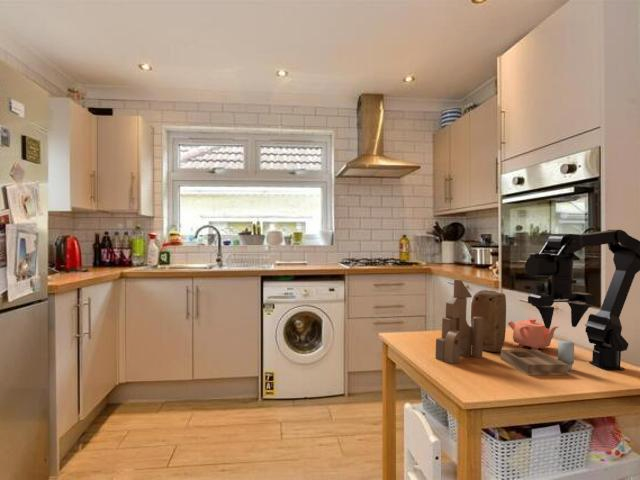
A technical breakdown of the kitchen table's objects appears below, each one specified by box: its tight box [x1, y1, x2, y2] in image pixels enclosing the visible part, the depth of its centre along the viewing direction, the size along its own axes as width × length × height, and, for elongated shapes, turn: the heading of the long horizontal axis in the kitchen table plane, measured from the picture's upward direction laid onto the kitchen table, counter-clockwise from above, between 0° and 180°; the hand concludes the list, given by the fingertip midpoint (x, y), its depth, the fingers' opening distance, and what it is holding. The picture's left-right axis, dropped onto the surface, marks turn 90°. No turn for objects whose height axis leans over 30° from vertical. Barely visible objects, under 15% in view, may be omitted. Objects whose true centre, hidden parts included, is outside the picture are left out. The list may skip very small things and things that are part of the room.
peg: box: [556, 340, 575, 372], centre depth 115 cm, size 4×4×8 cm
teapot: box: [507, 318, 559, 351], centre depth 138 cm, size 14×12×10 cm
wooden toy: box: [435, 278, 484, 365], centre depth 123 cm, size 15×7×25 cm, turn 122°
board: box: [500, 349, 569, 376], centre depth 117 cm, size 12×14×3 cm
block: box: [470, 289, 507, 353], centre depth 134 cm, size 11×8×20 cm
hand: (560, 327), depth 115 cm, fingers open, 9 cm apart
